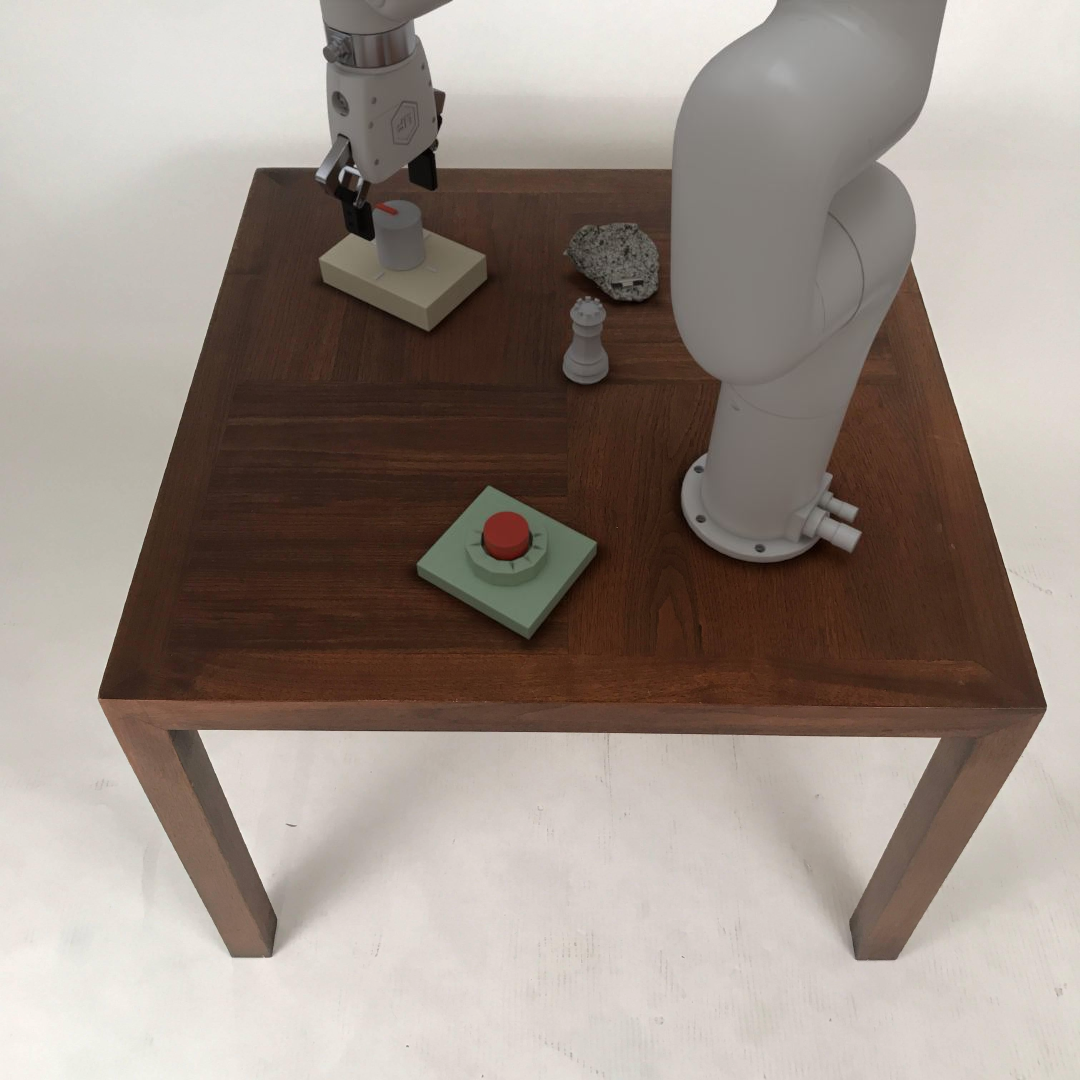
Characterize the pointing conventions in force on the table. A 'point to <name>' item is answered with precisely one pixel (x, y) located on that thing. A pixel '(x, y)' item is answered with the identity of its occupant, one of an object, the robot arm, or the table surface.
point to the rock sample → (617, 259)
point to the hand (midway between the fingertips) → (393, 209)
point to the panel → (406, 278)
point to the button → (506, 535)
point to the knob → (399, 235)
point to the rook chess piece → (586, 343)
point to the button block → (507, 564)
